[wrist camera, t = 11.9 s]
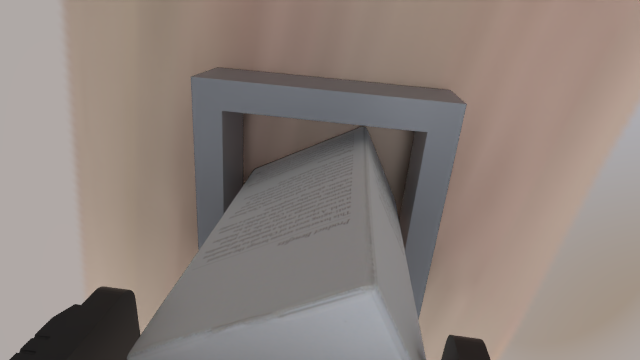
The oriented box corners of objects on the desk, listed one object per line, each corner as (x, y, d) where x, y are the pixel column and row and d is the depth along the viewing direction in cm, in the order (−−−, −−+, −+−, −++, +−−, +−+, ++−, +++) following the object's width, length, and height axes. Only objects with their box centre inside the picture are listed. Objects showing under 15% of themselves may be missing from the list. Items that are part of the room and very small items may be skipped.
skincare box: (290, 237, 21) (207, 480, 10) (253, 167, 20) (112, 357, 9) (400, 200, 20) (445, 436, 9) (368, 121, 18) (373, 280, 7)
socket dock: (217, 67, 18) (190, 76, 15) (450, 90, 17) (466, 104, 15) (221, 260, 22) (200, 295, 19) (410, 285, 21) (417, 325, 19)
